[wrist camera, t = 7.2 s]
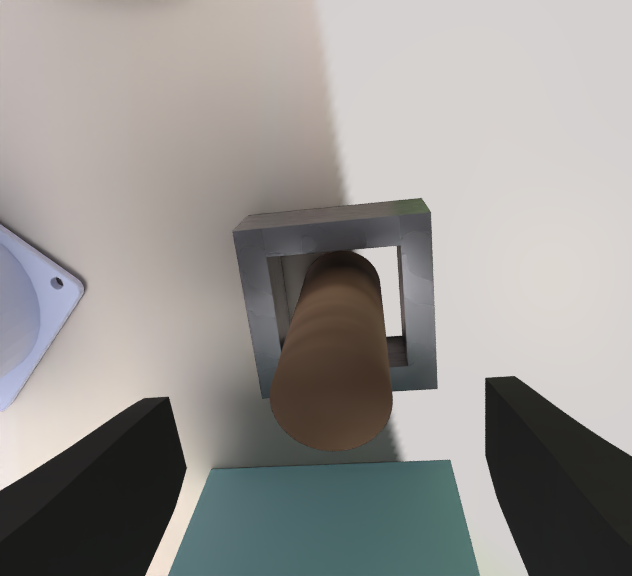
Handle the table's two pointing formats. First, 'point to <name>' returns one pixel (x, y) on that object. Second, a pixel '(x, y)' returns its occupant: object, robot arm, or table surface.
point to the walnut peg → (335, 358)
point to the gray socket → (336, 235)
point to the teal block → (329, 522)
